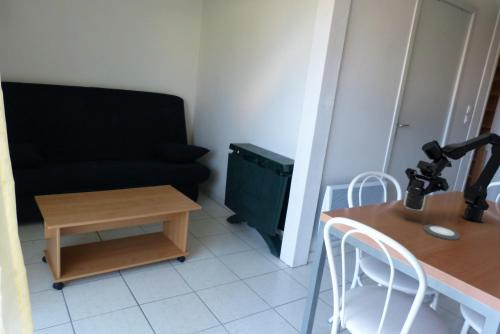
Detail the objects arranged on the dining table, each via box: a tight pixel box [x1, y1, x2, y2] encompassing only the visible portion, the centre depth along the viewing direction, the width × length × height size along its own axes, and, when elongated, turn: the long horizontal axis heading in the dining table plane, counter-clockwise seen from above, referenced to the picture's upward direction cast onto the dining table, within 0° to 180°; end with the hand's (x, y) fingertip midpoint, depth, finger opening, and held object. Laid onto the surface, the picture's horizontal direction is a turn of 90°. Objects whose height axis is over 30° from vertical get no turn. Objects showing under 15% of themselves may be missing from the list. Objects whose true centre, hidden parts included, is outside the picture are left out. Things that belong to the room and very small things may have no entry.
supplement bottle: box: [404, 179, 426, 211], centre depth 156 cm, size 7×7×12 cm
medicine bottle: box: [402, 190, 427, 212], centre depth 175 cm, size 7×7×12 cm
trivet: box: [423, 224, 461, 241], centre depth 146 cm, size 13×13×1 cm
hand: (414, 193), depth 155 cm, fingers closed on supplement bottle, 7 cm apart
